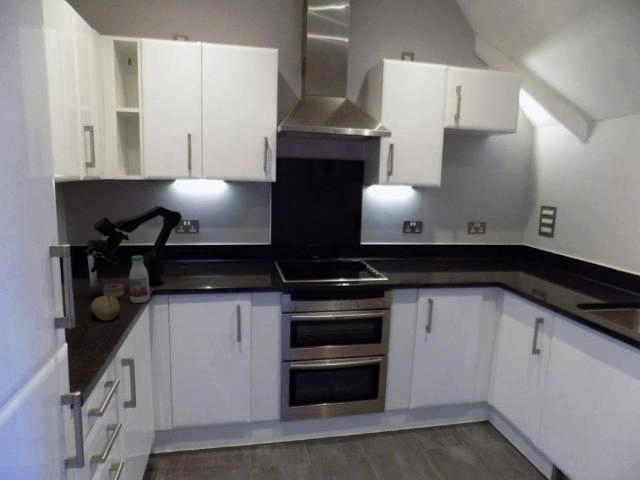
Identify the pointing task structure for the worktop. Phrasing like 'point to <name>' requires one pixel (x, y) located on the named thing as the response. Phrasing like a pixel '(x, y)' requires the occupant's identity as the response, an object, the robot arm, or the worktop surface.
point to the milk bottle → (139, 281)
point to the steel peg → (93, 275)
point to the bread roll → (105, 307)
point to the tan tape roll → (114, 290)
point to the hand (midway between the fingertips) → (89, 271)
